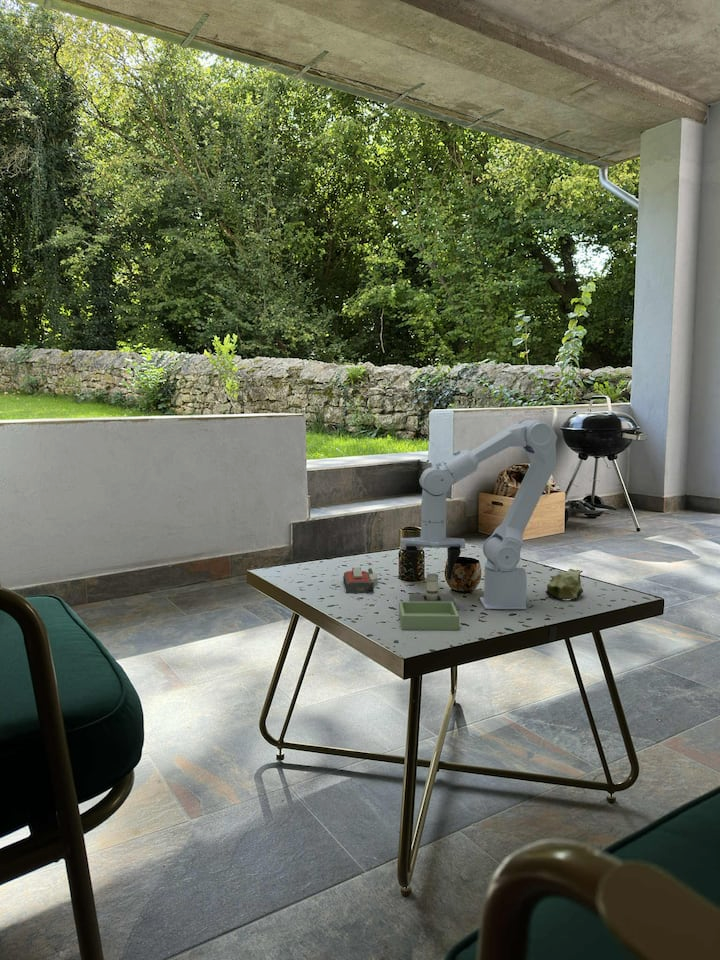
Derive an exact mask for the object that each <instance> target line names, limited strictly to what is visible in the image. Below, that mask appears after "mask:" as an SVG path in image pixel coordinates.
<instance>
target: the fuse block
mask: <svg viewBox="0 0 720 960" xmlns="http://www.w3.org/2000/svg"><path fill="white" fill-rule="evenodd" d="M408 595H409V596H408V598H409V599H408V602H453V603H454V605H455V608H456V605H457V603H456V601H455V598H454V596H453V593H438V601H426V593H409V594H408ZM456 609H457V608H456Z"/></svg>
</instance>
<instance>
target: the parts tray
mask: <svg viewBox="0 0 720 960" xmlns="http://www.w3.org/2000/svg"><path fill="white" fill-rule="evenodd" d="M398 616H399V620H400V621H399V622H400V627H401V630H402V631H421V630H422V631H459V630H460V615H459V612H458V611H457V608H455V605H454V603H453V602H409V601H398Z"/></svg>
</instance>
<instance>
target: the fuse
mask: <svg viewBox="0 0 720 960" xmlns="http://www.w3.org/2000/svg"><path fill="white" fill-rule="evenodd" d="M425 594H426V601H438V594H439V574H438V573H427V574H426V593H425Z"/></svg>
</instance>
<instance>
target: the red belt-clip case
mask: <svg viewBox="0 0 720 960" xmlns="http://www.w3.org/2000/svg"><path fill="white" fill-rule="evenodd" d="M367 570H368V571H366V570H362V568H361V567H352V570H351V571H349V570H348V571H345V572H343V576H342V581H343V583H344V584H345V585H344V589H346V590H345V593H346V594H371V593H373V592H374V590H375V587H376V586H378V581H379V580H378V574H377V573H374V571H373V569H372V568H370V567H369V568H368V569H367Z"/></svg>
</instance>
